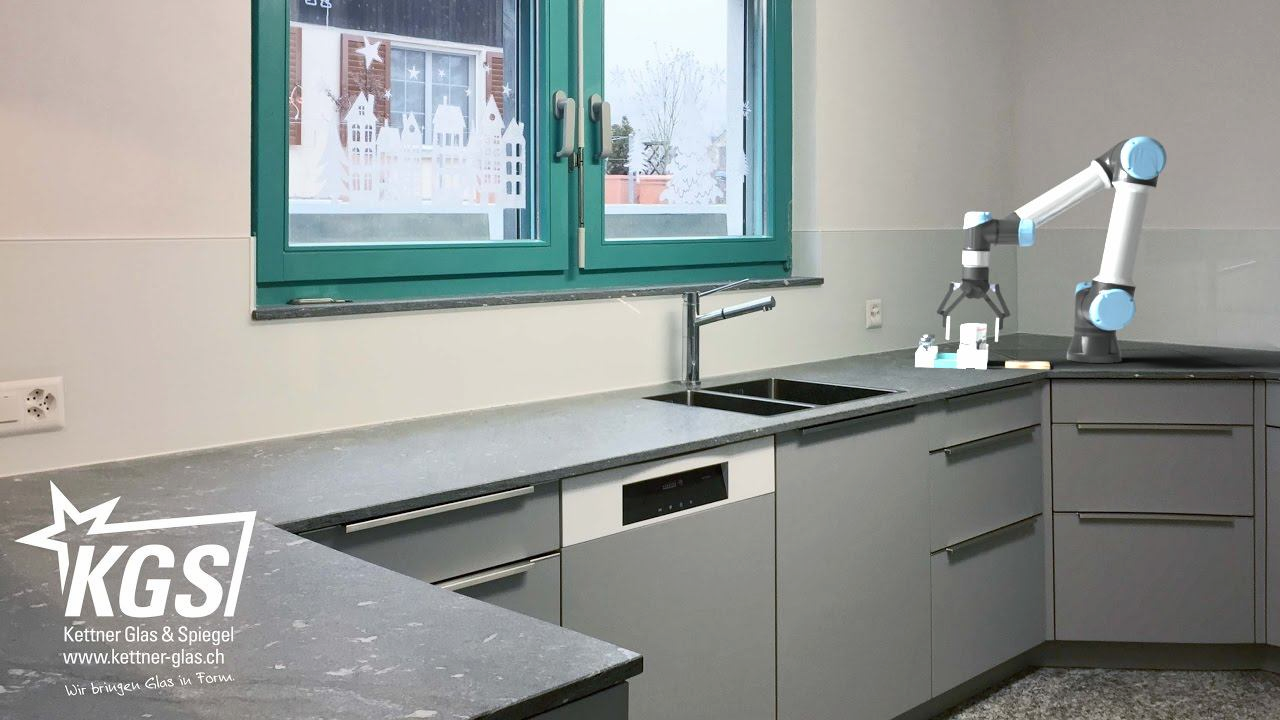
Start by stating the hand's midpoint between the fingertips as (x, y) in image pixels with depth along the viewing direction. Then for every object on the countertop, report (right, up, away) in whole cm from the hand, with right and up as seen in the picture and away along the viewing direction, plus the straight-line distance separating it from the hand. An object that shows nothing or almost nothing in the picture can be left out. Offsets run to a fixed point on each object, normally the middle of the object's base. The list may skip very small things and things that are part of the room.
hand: (971, 340), depth 348 cm
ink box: (0, -7, +1) cm, 7 cm away
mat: (+15, -8, -4) cm, 17 cm away
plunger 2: (-13, -6, 0) cm, 15 cm away
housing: (-5, -7, +2) cm, 9 cm away
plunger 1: (-11, -5, +9) cm, 15 cm away
